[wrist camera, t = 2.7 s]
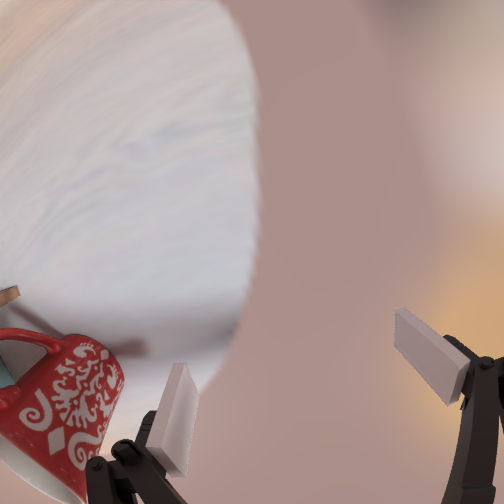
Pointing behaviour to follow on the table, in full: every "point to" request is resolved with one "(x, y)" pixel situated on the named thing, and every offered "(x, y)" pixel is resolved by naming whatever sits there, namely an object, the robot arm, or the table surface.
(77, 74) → the table surface
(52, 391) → the mug
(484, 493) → the robot arm
